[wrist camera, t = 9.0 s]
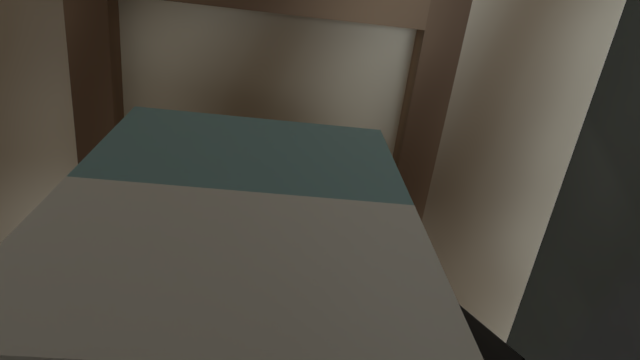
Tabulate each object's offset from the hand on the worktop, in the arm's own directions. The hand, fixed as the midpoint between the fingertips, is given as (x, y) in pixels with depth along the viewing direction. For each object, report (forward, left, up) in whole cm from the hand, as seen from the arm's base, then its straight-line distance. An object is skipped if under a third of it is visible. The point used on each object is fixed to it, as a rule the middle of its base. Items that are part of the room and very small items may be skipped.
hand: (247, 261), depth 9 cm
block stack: (0, 0, -1) cm, 1 cm away
